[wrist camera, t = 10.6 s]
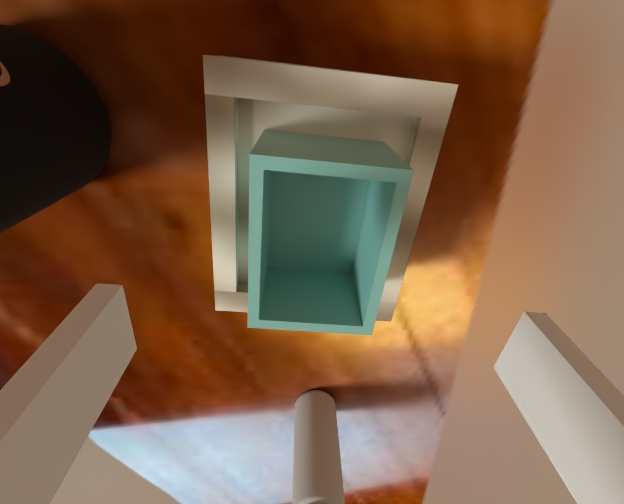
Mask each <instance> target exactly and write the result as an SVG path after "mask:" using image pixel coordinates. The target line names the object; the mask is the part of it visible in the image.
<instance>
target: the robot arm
mask: <svg viewBox="0 0 624 504" xmlns="http://www.w3.org/2000/svg"><path fill="white" fill-rule="evenodd" d="M136 349H137V347H136V342H135V338H134V334H133V329H132V325H131V321H130V316H129V312H128V307H127V303H126V299H125V294H124V290H123V286H122V285H110V284H96V285H95V286H94V287H93V288H92V289H91V290H90V292H89V293H88V294H87V295H86V296H85V297H84V298H83V299H82V300H81V302H80V303H79V304H78V305H77V306H76V307H75V308H74V309H73V310H72V311H71V313H70V314H69V315H68V316H67V317H66V318H65V319H64V320H63V321H62V323H61V324H60V325H59V326H58V327H57V328H56V329H55V330H54V331H53V333H52V334H51V335H50V336H49V337H48V338H47V339H46V340H45V341H44V343H43V344H42V345H41V346H40V347H39V348H38V349H37V350H36V351H35V353H34V354H33V355H32V356H31V357H30V358H29V359H28V360H27V361H26V363H25V364H24V365H23V366H22V367H21V368H20V369H19V370H18V371H17V373H16V374H15V375H14V376H13V377H12V378H11V379H10V380H9V381H8V383H7V384H6V385H5V386H4V387H3V388H2V389H1V390H0V504H50V502H51V500H52V498H53V497H54V495H55V493H56V491H57V490H58V488H59V486H60V484H61V483H62V481H63V479H64V477H65V476H66V474H67V472H68V470H69V468H70V467H71V465H72V463H73V461H74V459H75V458H76V456H77V454H78V452H79V451H80V449H81V447H82V445H83V444H84V442H85V440H86V438H87V436H88V435H89V433H90V431H91V429H92V428H93V426H94V424H95V422H96V420H97V419H98V417H99V415H100V413H101V412H102V410H103V408H104V406H105V404H106V403H107V401H108V399H109V397H110V396H111V394H112V392H113V390H114V389H115V387H116V385H117V383H118V381H119V380H120V378H121V376H122V374H123V373H124V371H125V369H126V367H127V365H128V364H129V362H130V360H131V358H132V357H133V355H134V353H135V351H136ZM494 369H495V370H496V372H497V374H498V375H499V377H500V378H501V380H502V382H503V384H504V385H505V387H506V388H507V390H508V392H509V393H510V395H511V397H512V398H513V400H514V401H515V403H516V405H517V406H518V408H519V410H520V411H521V413H522V415H523V416H524V418H525V419H526V421H527V422H528V424H529V426H530V428H531V429H532V431H533V432H534V434H535V436H536V437H537V439H538V441H539V442H540V444H541V445H542V447H543V449H544V450H545V452H546V453H547V455H548V457H549V459H550V460H551V462H552V463H553V465H554V467H555V468H556V470H557V472H558V473H559V475H560V476H561V478H562V480H563V481H564V483H565V484H566V486H567V488H568V489H569V491H570V492H571V494H572V496H573V497H574V499H575V501H576V503H577V504H624V396H623V394H622V393H621V392H620V391H619V390H618V389H617V388H616V387H615V386H614V385H613V384H612V383H611V382H610V381H609V380H608V379H607V378H606V376H605V375H604V374H603V373H602V372H601V371H600V370H599V369H598V368H597V367H596V366H595V365H594V364H593V363H592V362H591V361H590V360H589V359H588V357H587V356H586V355H585V354H584V353H583V352H582V351H581V350H580V349H579V348H578V347H577V346H576V345H575V344H574V343H573V342H572V341H571V339H570V338H569V337H568V336H567V335H566V334H565V333H564V332H563V331H562V330H561V329H560V328H559V327H558V326H557V325H556V324H555V323H554V322H553V320H552V319H551V318H550V317H549V316H548V315H547V314H546V313H537V312H536V313H535V312H524V313H523V315H522V317H521V318H520V320H519V322H518V324H517V326H516V328H515V329H514V331H513V333H512V335H511V337H510V338H509V340H508V342H507V344H506V346H505V347H504V349H503V351H502V353H501V355H500V356H499V358H498V360H497V362H496V364H495V366H494Z"/></svg>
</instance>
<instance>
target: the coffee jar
mask: <svg viewBox="0 0 624 504" xmlns="http://www.w3.org/2000/svg"><path fill="white" fill-rule="evenodd" d="M110 139H111V132H110V128H109V123H108V118H107V113H106V110H105V108H104V106H103V104H102V102H101V100H100V98H99V96H98V94H97V92H96V90H95V88H94V86H93V84H92V83H91V82H90V81H89V80H88V78H87V77H86V76H85V75H84V74H83V72H82V71H81V70H80V69H79V68H78V66H77V65H76V64H75V63H74V62H73V61H72V60H71V59H69V58H68V57H67V56H65V55H64V54H63V53H61V52H60V51H59V50H57V49H56V48H55V47H54V46H52V45H51V44H50V43H48V42H47V41H46V40H44V39H42V38H40V37H38V36H35V35H33V34H30V33H28V32H26V31H23V30H21V29H19V28H16V27H14V26H7V25H0V233H1V232H3V231H5V230H7V229H9V228H10V227H12V226H14V225H16V224H18V223H19V222H21V221H23V220H25V219H26V218H28V217H30V216H32V215H34V214H35V213H37V212H39V211H41V210H43V209H44V208H46V207H48V206H50V205H52V204H53V203H55V202H57V201H59V200H60V199H62V198H64V197H66V196H68V195H69V194H71V193H73V192H75V191H77V190H78V189H80V188H82V187H83V186H85V185H86V184H88V183H89V182H90V181H92V180H93V179H94V178H96V177H97V176H98V175H99V173H100V172H101V170H102V168H103V166H104V164H105V163H106V161H107V159H108V155H109V147H110Z"/></svg>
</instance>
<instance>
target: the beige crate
mask: <svg viewBox="0 0 624 504" xmlns="http://www.w3.org/2000/svg"><path fill="white" fill-rule="evenodd" d="M203 71H204V91H205V111H206V131H207V151H208V171H209V191H210V211H211V230H212V250H213V270H214V290H215V310H221V311H237V312H248V245H249V160H250V153H251V151H252V149H253V147H254V146H255V144H256V142H257V141H258V139H259V137H260V136H261V134H262V132H263V131H264V129H266V130H275V131H285V132H294V133H304V134H313V135H323V136H333V137H342V138H352V139H361V140H371V141H381V142H385V143H386V144H387V145H388V146H389V147H390V148H391V149H392V150H393V151H394V152H395V153H396V154H397V155H398V156H399V157H400V158H402V159H403V160H404V161H405V162H406V163H407V164H408V165H409V166H410V167H411V168H412V169H413V170H414V172H413V176H412V180H411V184H410V187H409V191H408V195H407V199H406V203H405V207H404V211H403V215H402V219H401V223H400V226H399V230H398V234H397V238H396V242H395V246H394V250H393V254H392V258H391V262H390V266H389V269H388V273H387V277H386V281H385V285H384V289H383V293H382V297H381V301H380V305H379V308H378V312H377V316H376V320H377V321H391V320H392V316H393V313H394V309H395V306H396V302H397V299H398V295H399V292H400V288H401V285H402V281H403V278H404V274H405V271H406V267H407V264H408V260H409V257H410V253H411V250H412V246H413V243H414V239H415V235H416V232H417V228H418V225H419V221H420V218H421V214H422V211H423V207H424V204H425V200H426V197H427V193H428V190H429V186H430V183H431V179H432V176H433V172H434V169H435V165H436V162H437V158H438V155H439V151H440V148H441V144H442V141H443V137H444V134H445V130H446V127H447V123H448V120H449V116H450V113H451V109H452V106H453V102H454V99H455V95H456V92H457V88H458V84H450V83H443V82H435V81H434V80H426V79H418V78H409V77H401V76H392V75H384V74H375V73H367V72H358V71H350V70H341V69H333V68H324V67H316V66H307V65H299V64H290V63H282V62H273V61H265V60H256V59H248V58H239V57H231V56H222V55H219V56H212V55H203Z"/></svg>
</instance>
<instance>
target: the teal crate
mask: <svg viewBox="0 0 624 504" xmlns="http://www.w3.org/2000/svg"><path fill="white" fill-rule="evenodd" d="M413 172H414V170H413V169H412V168H411V167H410V166H409V165H408V164H407V163H406V162H405V161H404V160H403V159H402V158H400V157H399V156H398V155H397V154H396V153H395V152H394V151H393V150H392V149H391V148H390V147H389V146H388V145H387V144H386V143H385V142H381V141H371V140H361V139H352V138H342V137H333V136H323V135H313V134H304V133H294V132H285V131H275V130H266V129H264V131H263V132H262V134H261V136H260V137H259V139H258V141H257V142H256V144H255V146H254V147H253V149H252V151H251V153H250V160H249V245H248V328H263V329H279V330H295V331H312V332H328V333H344V334H360V335H372V332H373V328H374V324H375V320H376V316H377V312H378V308H379V305H380V301H381V297H382V293H383V289H384V285H385V281H386V277H387V273H388V269H389V266H390V262H391V258H392V254H393V250H394V246H395V242H396V238H397V234H398V230H399V226H400V223H401V219H402V215H403V211H404V207H405V203H406V199H407V195H408V191H409V187H410V184H411V180H412V176H413Z"/></svg>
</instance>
